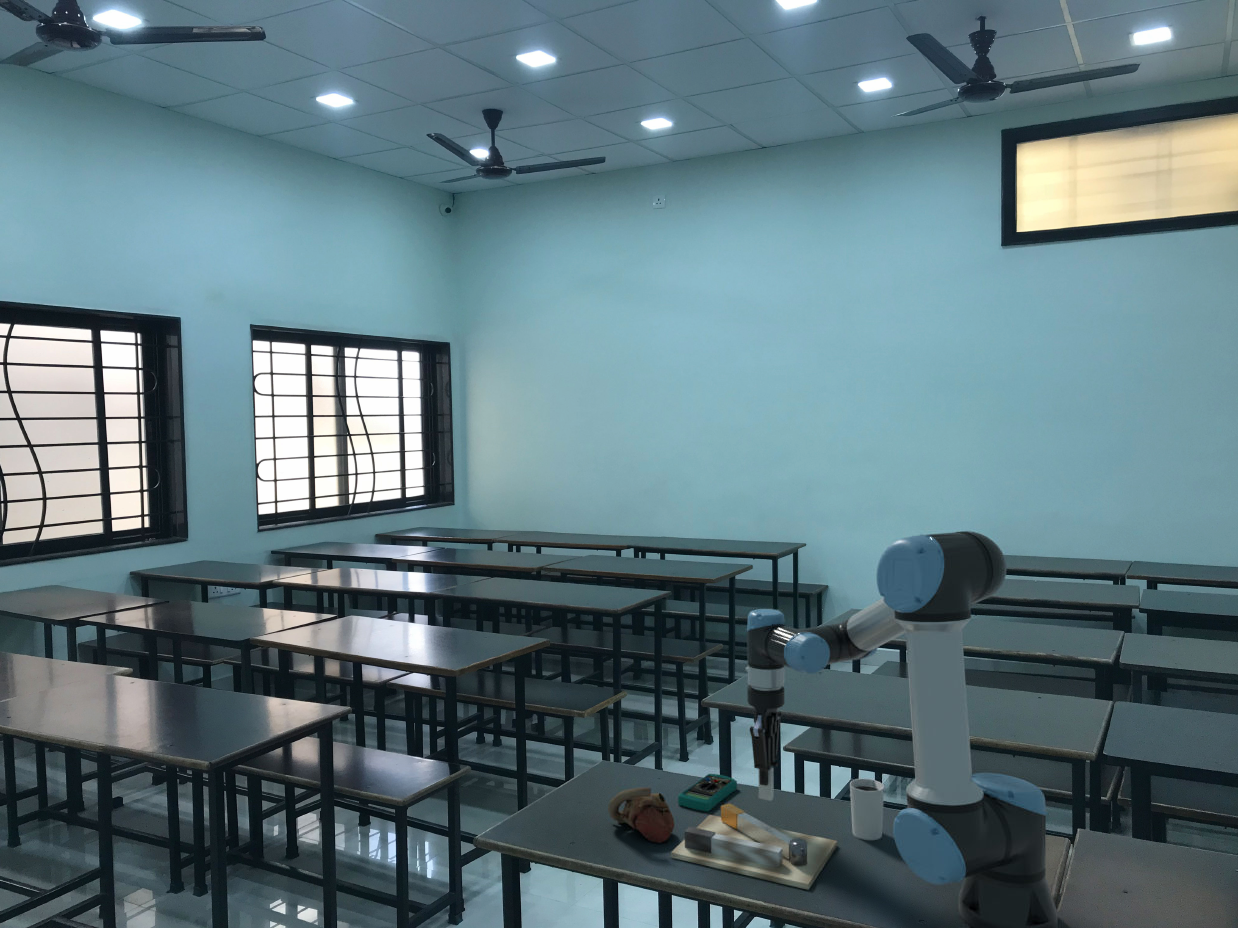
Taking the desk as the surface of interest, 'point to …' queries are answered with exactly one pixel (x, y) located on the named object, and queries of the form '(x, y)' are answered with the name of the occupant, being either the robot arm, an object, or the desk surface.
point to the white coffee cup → (867, 808)
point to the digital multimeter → (707, 792)
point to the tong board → (757, 870)
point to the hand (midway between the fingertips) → (766, 797)
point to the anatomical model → (643, 813)
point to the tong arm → (765, 834)
